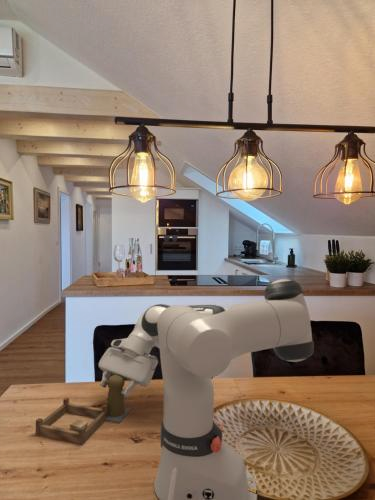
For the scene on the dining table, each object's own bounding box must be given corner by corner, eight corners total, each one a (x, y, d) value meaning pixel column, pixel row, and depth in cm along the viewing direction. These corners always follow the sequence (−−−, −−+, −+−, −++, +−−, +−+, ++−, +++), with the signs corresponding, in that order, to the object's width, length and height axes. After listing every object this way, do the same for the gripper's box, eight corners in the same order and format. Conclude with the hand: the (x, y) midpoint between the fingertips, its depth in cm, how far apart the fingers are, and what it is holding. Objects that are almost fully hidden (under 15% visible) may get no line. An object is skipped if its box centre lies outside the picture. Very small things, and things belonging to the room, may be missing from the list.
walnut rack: (107, 418, 98) (108, 405, 98) (83, 444, 86) (83, 430, 85) (65, 410, 102) (65, 397, 102) (35, 434, 89) (35, 420, 89)
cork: (110, 405, 104) (110, 371, 104) (128, 407, 103) (128, 373, 103) (101, 415, 98) (102, 379, 98) (120, 418, 97) (121, 382, 97)
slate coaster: (131, 409, 103) (131, 407, 103) (119, 423, 96) (119, 421, 96) (108, 405, 105) (108, 403, 105) (95, 419, 98) (95, 417, 98)
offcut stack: (89, 432, 91) (89, 420, 91) (81, 440, 87) (81, 427, 87) (74, 429, 92) (74, 417, 92) (66, 437, 88) (66, 424, 88)
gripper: (164, 362, 104) (143, 405, 96) (118, 348, 115) (96, 386, 107) (155, 352, 100) (132, 396, 92) (109, 339, 111) (85, 377, 103)
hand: (112, 390), depth 100 cm, fingers open, 8 cm apart
